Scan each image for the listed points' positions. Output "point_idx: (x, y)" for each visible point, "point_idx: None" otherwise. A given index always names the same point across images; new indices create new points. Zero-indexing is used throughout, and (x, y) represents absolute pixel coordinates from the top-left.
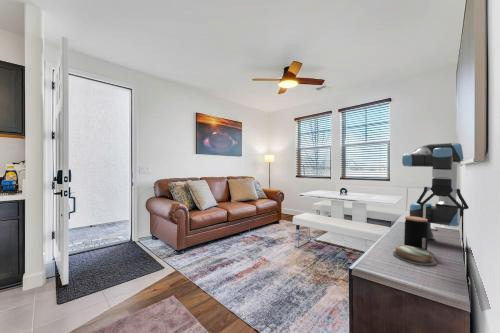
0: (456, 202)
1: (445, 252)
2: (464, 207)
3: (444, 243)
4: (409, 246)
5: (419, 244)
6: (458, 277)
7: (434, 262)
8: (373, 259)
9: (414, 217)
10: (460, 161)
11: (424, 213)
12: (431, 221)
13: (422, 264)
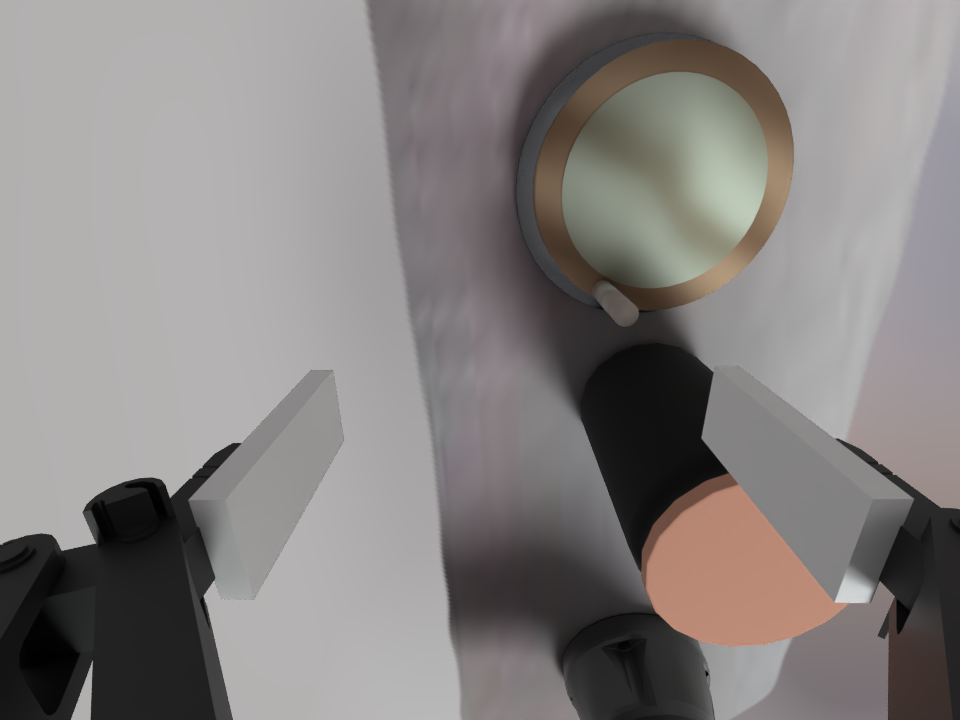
0: (124, 679)
1: (492, 468)
2: (69, 578)
3: (510, 625)
4: (694, 274)
5: (633, 366)
6: (386, 8)
7: (525, 180)
8: None
9: (774, 592)
10: None
11: (762, 399)
12: None
13: (586, 61)
